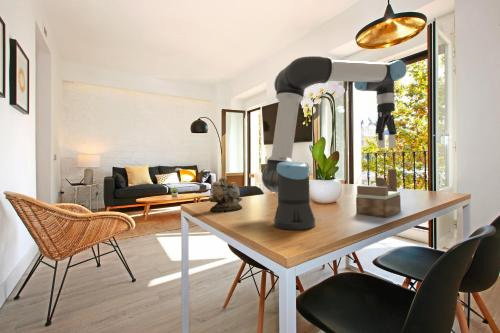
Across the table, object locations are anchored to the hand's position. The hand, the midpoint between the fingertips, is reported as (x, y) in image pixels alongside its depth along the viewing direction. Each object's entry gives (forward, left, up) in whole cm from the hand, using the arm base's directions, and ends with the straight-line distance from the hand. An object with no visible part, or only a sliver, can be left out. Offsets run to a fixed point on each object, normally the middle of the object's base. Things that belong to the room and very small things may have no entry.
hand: (386, 147), depth 123 cm
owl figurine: (-58, -55, -29) cm, 85 cm away
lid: (+2, -17, -21) cm, 27 cm away
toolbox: (+2, -17, -28) cm, 33 cm away
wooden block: (0, 0, -29) cm, 29 cm away
